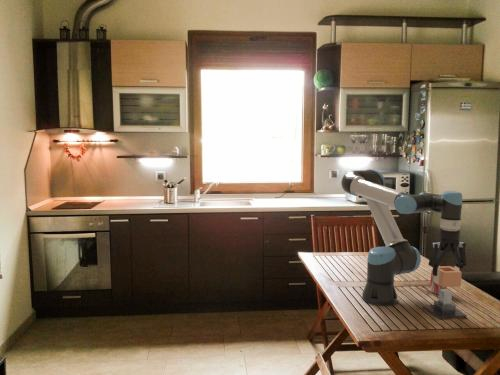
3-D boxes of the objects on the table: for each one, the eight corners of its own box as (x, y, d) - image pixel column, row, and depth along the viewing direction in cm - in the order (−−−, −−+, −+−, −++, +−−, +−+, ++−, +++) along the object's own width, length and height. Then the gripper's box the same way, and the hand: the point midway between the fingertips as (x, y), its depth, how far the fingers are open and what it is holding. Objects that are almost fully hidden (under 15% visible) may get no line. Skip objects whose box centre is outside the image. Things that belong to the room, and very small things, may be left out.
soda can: (433, 288, 213) (435, 264, 212) (448, 292, 208) (450, 268, 207) (427, 292, 208) (428, 267, 207) (442, 296, 203) (444, 271, 202)
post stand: (438, 318, 177) (440, 296, 176) (423, 307, 189) (424, 286, 188) (466, 317, 179) (467, 295, 178) (449, 306, 191) (450, 285, 190)
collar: (442, 286, 178) (443, 272, 177) (431, 280, 186) (432, 266, 185) (460, 286, 179) (461, 272, 178) (449, 279, 187) (450, 266, 186)
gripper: (431, 231, 174) (427, 286, 177) (479, 230, 177) (474, 285, 180) (421, 227, 182) (417, 280, 185) (467, 226, 185) (463, 279, 187)
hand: (446, 282), depth 182 cm, fingers closed on collar, 8 cm apart
